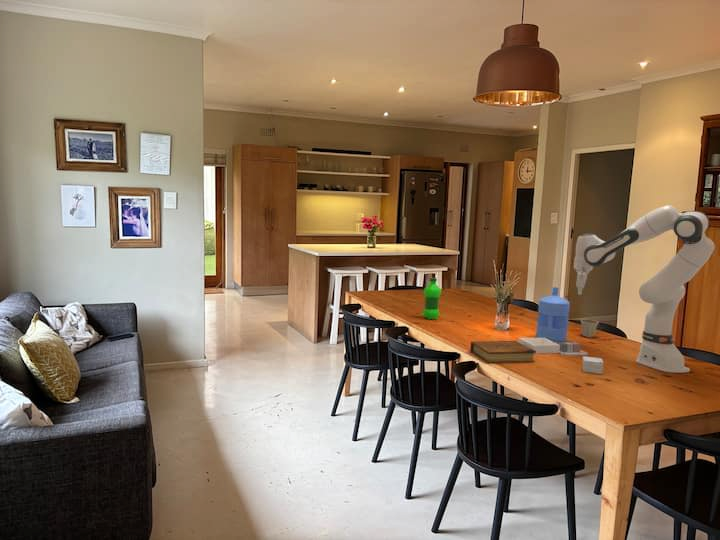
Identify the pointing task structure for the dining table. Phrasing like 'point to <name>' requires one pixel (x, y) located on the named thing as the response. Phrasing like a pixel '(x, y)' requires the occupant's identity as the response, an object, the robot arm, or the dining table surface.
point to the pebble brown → (576, 347)
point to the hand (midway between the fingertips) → (580, 291)
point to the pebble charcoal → (562, 346)
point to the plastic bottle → (431, 299)
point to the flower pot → (588, 327)
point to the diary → (502, 351)
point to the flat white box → (540, 345)
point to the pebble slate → (569, 346)
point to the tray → (573, 353)
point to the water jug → (553, 317)
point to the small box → (592, 365)
